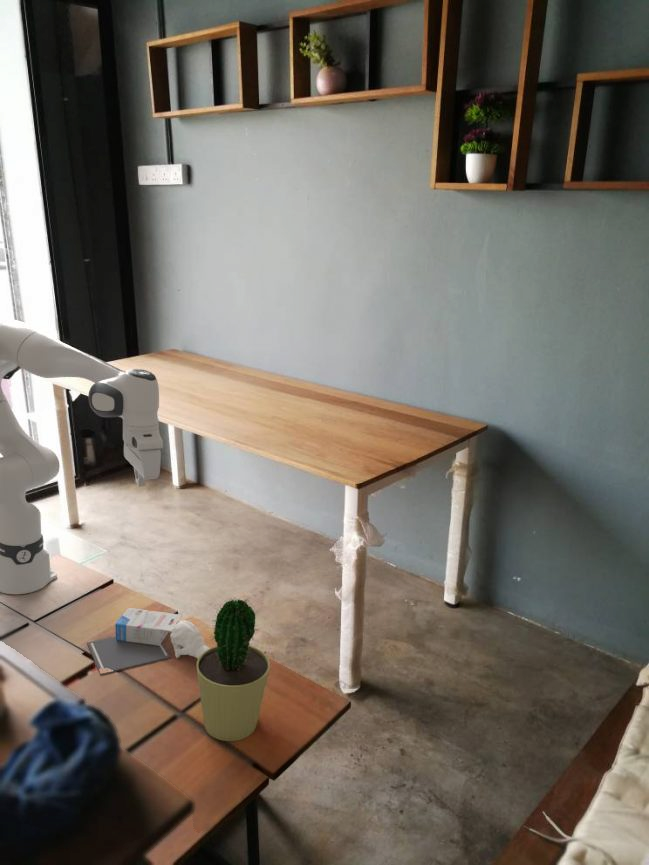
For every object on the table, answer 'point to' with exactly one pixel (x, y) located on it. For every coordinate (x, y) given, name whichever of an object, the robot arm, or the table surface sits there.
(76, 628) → the table surface
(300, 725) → the table surface
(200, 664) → the potted cactus
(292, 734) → the table surface
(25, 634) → the table surface
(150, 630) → the ink box
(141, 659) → the mat
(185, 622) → the white irregular lumpy piece
